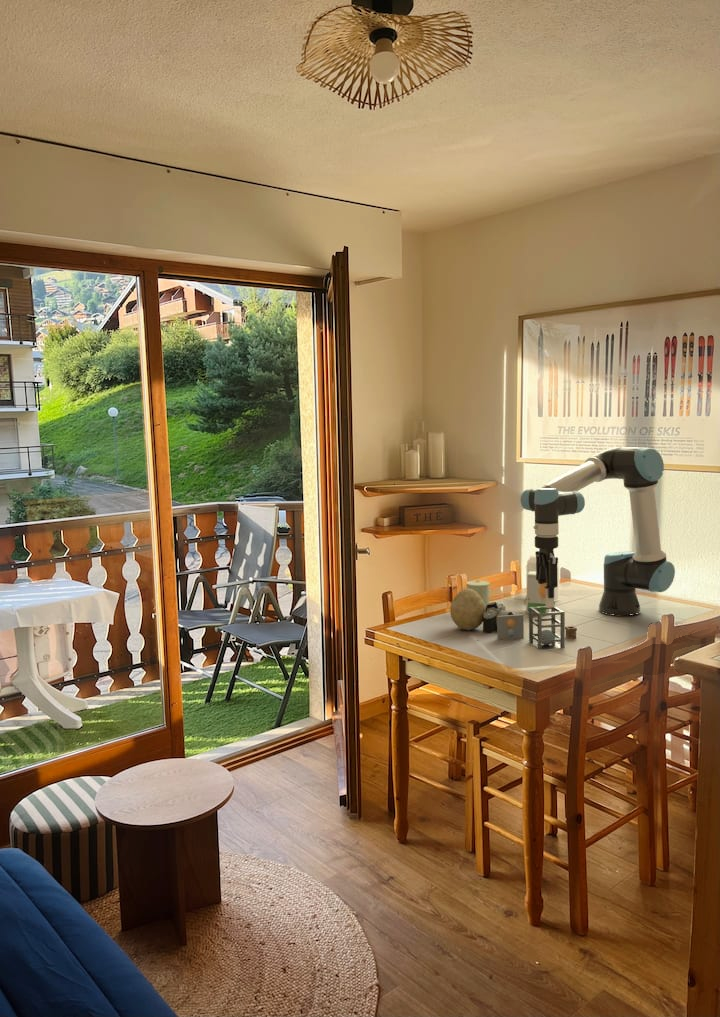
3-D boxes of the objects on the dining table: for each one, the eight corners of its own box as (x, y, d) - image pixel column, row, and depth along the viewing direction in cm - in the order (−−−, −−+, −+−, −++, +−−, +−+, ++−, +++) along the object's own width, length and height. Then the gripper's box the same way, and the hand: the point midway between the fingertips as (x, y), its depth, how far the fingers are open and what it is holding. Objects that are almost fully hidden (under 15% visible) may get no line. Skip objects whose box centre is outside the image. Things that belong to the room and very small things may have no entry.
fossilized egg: (449, 625, 289) (448, 585, 287) (483, 624, 289) (483, 584, 287) (452, 634, 276) (451, 593, 275) (488, 633, 276) (487, 592, 274)
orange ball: (550, 595, 259) (550, 581, 259) (556, 599, 255) (556, 584, 254) (536, 596, 259) (536, 581, 258) (542, 600, 254) (542, 585, 253)
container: (522, 595, 332) (522, 549, 329) (552, 593, 333) (552, 547, 331) (532, 603, 318) (532, 554, 316) (564, 601, 320) (564, 553, 318)
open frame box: (554, 642, 264) (554, 605, 262) (564, 650, 255) (564, 611, 253) (529, 644, 262) (529, 607, 261) (538, 651, 254) (538, 613, 252)
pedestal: (574, 637, 269) (574, 625, 268) (580, 641, 264) (580, 628, 263) (560, 638, 268) (560, 626, 268) (566, 642, 263) (566, 629, 263)
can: (489, 608, 312) (489, 579, 310) (491, 614, 303) (490, 584, 301) (466, 608, 313) (465, 579, 311) (467, 614, 304) (466, 584, 302)
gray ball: (550, 642, 261) (550, 627, 261) (556, 646, 256) (556, 631, 256) (536, 643, 261) (536, 628, 260) (542, 647, 256) (542, 632, 255)
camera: (501, 637, 271) (501, 609, 270) (477, 634, 276) (477, 606, 275) (518, 627, 284) (518, 600, 283) (495, 623, 289) (495, 597, 287)
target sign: (521, 638, 269) (521, 613, 268) (524, 640, 266) (524, 615, 265) (496, 640, 268) (496, 615, 267) (499, 642, 265) (499, 617, 264)
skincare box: (526, 613, 302) (525, 574, 301) (529, 609, 308) (528, 570, 307) (548, 615, 299) (548, 575, 297) (550, 610, 305) (550, 571, 303)
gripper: (525, 532, 263) (526, 599, 265) (545, 540, 245) (546, 612, 247) (546, 531, 264) (547, 598, 266) (568, 539, 246) (568, 611, 249)
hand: (546, 605), depth 257 cm, fingers open, 5 cm apart
